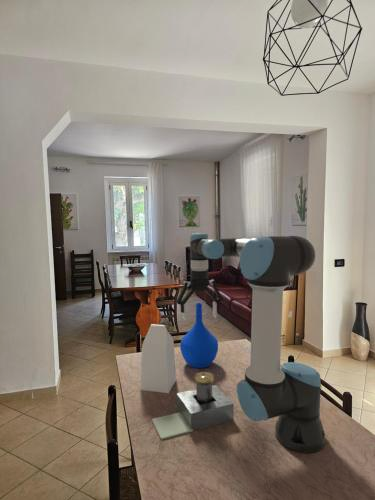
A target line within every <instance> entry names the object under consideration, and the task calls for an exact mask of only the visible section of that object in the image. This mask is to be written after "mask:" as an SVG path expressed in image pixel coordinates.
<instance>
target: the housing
mask: <svg viewBox="0 0 375 500" xmlns="http://www.w3.org/2000/svg"><path fill="white" fill-rule="evenodd" d="M234 408H235V407H234V402H233V401H232V400H231V399H230V398H229V397H228V396H227V394H225V393H224V392H223V391H222V390H221V389H220V388H219V387H218V386H217V385H216V384H215V385H213V384H212V402H210V403H206V404H201V405H199V404H198V402H197V400H196V388H195V389H190V390H187V391H186V390H185V391H182V392H177V393H176V409H177V412H178V413H179V412H180V413H181V414H182V416H183V417H184V419H185V421H186V422H187V424H188V425H189V427H190V428H191V429H193V431H196V430H200V429H204V428H208V427H211V426H212V427H213V426H215V425H220V424H223V423H226V422H231V421H233V420H235V419H234V418H235V417H234V416H235V415H234V412H235V411H234V410H235V409H234Z"/></svg>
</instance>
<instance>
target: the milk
mask: <svg viewBox="0 0 375 500" xmlns="http://www.w3.org/2000/svg"><path fill="white" fill-rule="evenodd" d="M148 328H149V329H148V331H147V333H146V335H145V338H144V340H143V342H142V345H141V363H140V366H141V368H140V391H148V392H157V393H163V394H164V393H165V394H169V393H170V391H171V389H172V388H173V386H174V384H175V383H176V381H177V374H176V373H177V372H176V360H175V359H176V357H175V347H174V346H175V345H174V337H173V336H172V334H171V333H170V332H169V331H168V330H167V327H166V325H165V324H157V323H156V324H155V323H151V324H150V327H148Z"/></svg>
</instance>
